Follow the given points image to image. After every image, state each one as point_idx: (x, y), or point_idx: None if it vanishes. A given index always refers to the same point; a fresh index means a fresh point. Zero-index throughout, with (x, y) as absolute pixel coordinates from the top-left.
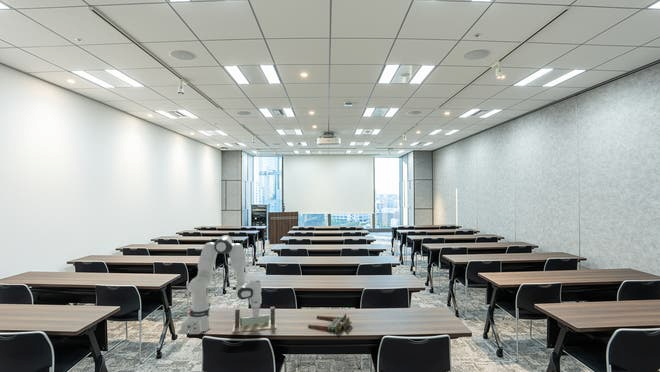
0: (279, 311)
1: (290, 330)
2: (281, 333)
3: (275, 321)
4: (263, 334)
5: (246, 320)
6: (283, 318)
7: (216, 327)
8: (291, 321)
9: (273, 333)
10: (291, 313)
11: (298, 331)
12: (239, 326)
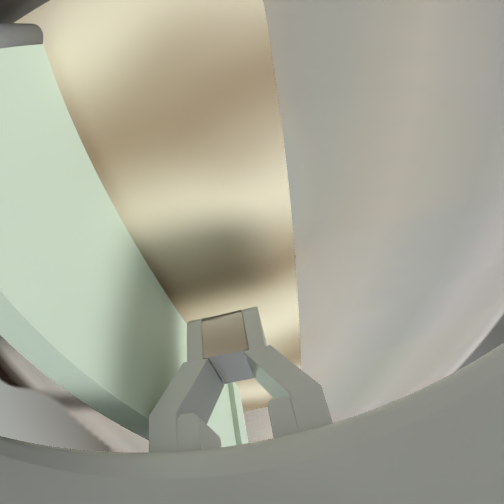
0: (457, 347)
1: (137, 442)
2: (82, 423)
3: (255, 408)
4: (9, 360)
5: None
6: (330, 403)
7: None
8: (268, 433)
9: (59, 401)
10: (390, 401)
11: (137, 452)
12: (27, 15)
